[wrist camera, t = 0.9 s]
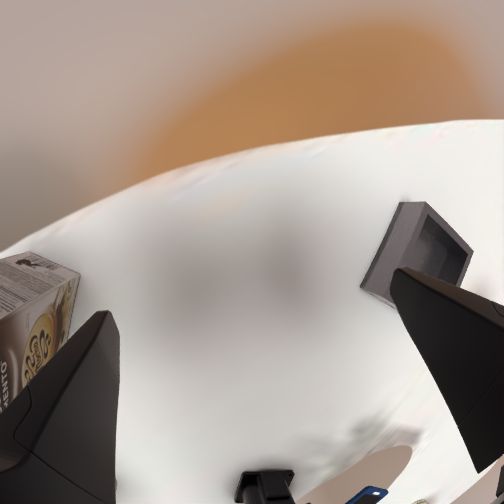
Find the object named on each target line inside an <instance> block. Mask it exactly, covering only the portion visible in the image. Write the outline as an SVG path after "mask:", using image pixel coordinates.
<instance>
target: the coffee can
mask: <svg viewBox="0 0 504 504" xmlns="http://www.w3.org/2000/svg"><path fill="white" fill-rule="evenodd" d="M412 504H427V503H426V502H425V500H419V501H417V502H414V503H412Z"/></svg>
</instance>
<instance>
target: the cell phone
mask: <svg viewBox="0 0 504 504" xmlns="http://www.w3.org/2000/svg"><path fill="white" fill-rule="evenodd" d="M387 494H388V491H387V490H386V489H382V488H378V487H373V486H366V487H365V488H364V489H362V490H361V491H360V492H359V493H357V494H356V495H355V496H354V497H353V498H351V499H350V500H349V501H348V502H346V503H345V504H376V503H378V502H379V501H380V500H381V499H382V498H384V497H385V496H386V495H387Z"/></svg>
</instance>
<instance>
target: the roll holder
mask: <svg viewBox="0 0 504 504" xmlns="http://www.w3.org/2000/svg"><path fill="white" fill-rule="evenodd" d="M473 252H474V251H473V250H472V249H471V248H470V247H469V245H468V244H467V243H466V242H465V241H464V240H463V239H462V238H461V237H460V236H459V235H458V234H457V232H456V231H455V230H454V229H453V228H452V227H451V226H450V225H449V224H448V223H447V222H446V221H445V220H444V219H443V218H442V217H441V216H440V215H439V214H438V213H437V212H436V211H435V210H434V209H433V208H432V207H431V206H430V205H429V204H427V203H426V202H400V203H399V205H398V208H397V210H396V212H395V215H394V217H393V219H392V221H391V224H390V226H389V228H388V230H387V233H386V235H385V237H384V239H383V241H382V243H381V245H380V248H379V250H378V252H377V254H376V256H375V258H374V260H373V262H372V264H371V266H370V268H369V270H368V272H367V274H366V276H365V278H364V280H363V282H362V284H361V286H360V288H361V289H363V290H365V291H366V292H368V293H370V294H371V295H373V296H375V297H376V298H378V299H379V300H381V301H383V302H384V303H386V304H388V305H389V306H391V307H393V308H394V309H396V310H397V308H396V306H395V304H394V302H393V300H392V298H391V296H390V292H389V288H390V284H391V280H392V276H393V272H394V270H395V269H396V268H399V267H404V266H405V267H409V268H411V269H414V270H417V271H419V272H422V273H424V274H427V275H429V276H432V277H435V278H437V279H440V280H442V281H445V282H447V283H450V284H452V285H455V286H457V287H460V286H461V283H462V281H463V278H464V276H465V273H466V271H467V268H468V266H469V263H470V260H471V257H472V255H473Z"/></svg>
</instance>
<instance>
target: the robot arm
mask: <svg viewBox="0 0 504 504" xmlns="http://www.w3.org/2000/svg"><path fill="white" fill-rule="evenodd" d="M389 292H390V296H391V298H392V300H393V302H394V304H395V306H396V308H397V310H398V312H399V315H400V317H401V319H402V321H403V323H404V325H405V327H406V329H407V331H408V333H409V335H410V337H411V338H412V340H413V342H414V344H415V345H416V347H417V349H418V351H419V352H420V354H421V356H422V358H423V360H424V361H425V363H426V365H427V367H428V369H429V371H430V372H431V374H432V376H433V378H434V380H435V382H436V384H437V386H438V388H439V390H440V392H441V394H442V396H443V398H444V400H445V402H446V404H447V406H448V408H449V410H450V412H451V414H452V416H453V418H454V420H455V422H456V425H457V427H458V429H459V431H460V434H461V436H462V438H463V440H464V443H465V445H466V447H467V450H468V452H469V454H470V457H471V459H472V462H473V464H474V467H475V469H476V471H477V473H478V474H479V473H480V472H482V471H483V470H484V469H486V468H487V467H488V466H490V465H491V464H492V463H494V462H495V461H496V460H497V459H499V458H500V457H501V456H502V455H503V454H504V306H503V305H500V304H498V303H496V302H493V301H490V300H488V299H486V298H484V297H481V296H479V295H477V294H474V293H472V292H469V291H467V290H464V289H462V288H460V287H457V286H455V285H452V284H450V283H447V282H445V281H442V280H440V279H437V278H435V277H432V276H429V275H427V274H424V273H422V272H419V271H417V270H414V269H411V268H409V267H405V266H404V267H399V268H396V269H395V270H394V272H393V276H392V280H391V284H390V288H389ZM119 384H120V335H119V331H118V328H117V326H116V323H115V321H114V318H113V316H112V313H111V312H110V311H109V310H104V311H97V312H96V313H94V314H93V315H92V316H91V317H90V318H89V319H88V320H87V321H86V322H85V323H84V324H83V325H82V326H81V327H80V328H79V329H78V331H77V332H76V333H75V334H74V335H73V336H72V337H71V338H70V339H69V340H68V341H67V342H66V343H65V344H64V345H63V346H62V347H61V348H60V349H59V350H58V351H57V352H56V353H55V354H54V355H53V356H52V358H51V359H50V360H49V361H48V362H47V363H46V364H45V365H44V366H43V367H42V368H41V369H40V370H39V372H38V373H37V374H36V375H35V376H34V377H33V378H32V379H31V380H30V381H29V383H28V384H27V385H26V386H25V387H24V388H23V389H22V390H21V392H20V393H19V394H18V395H17V396H16V397H15V398H14V399H13V400H12V401H11V403H10V404H9V405H8V406H7V407H6V408H5V409H4V410H3V411H2V412H1V413H0V504H116V495H115V448H116V425H117V409H118V396H119ZM293 477H294V472H293V471H274V472H245V473H243V474H242V475H241V479H240V482H239V485H238V489H237V492H236V495H235V498H234V501H235V503H244V504H295V502H294V500H293V497H292V495H291V493H290V490H289V485H290V483H291V481H292V479H293ZM496 496H497V499H496V500H494V501H493V502H492V503H491V504H504V465H503V466H502V467H501V472H500V477H499V482H498V487H497V492H496ZM307 504H311V503H307Z"/></svg>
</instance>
